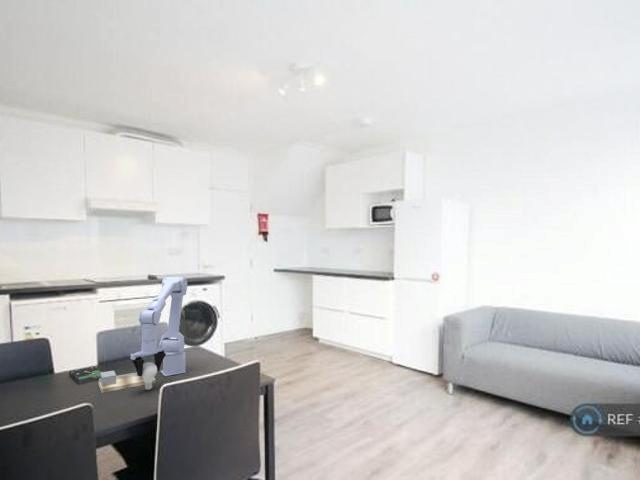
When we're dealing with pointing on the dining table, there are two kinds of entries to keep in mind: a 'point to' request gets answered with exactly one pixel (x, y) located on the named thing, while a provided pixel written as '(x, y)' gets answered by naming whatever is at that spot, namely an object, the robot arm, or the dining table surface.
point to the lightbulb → (149, 374)
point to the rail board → (119, 381)
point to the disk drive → (85, 375)
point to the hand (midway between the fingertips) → (148, 373)
